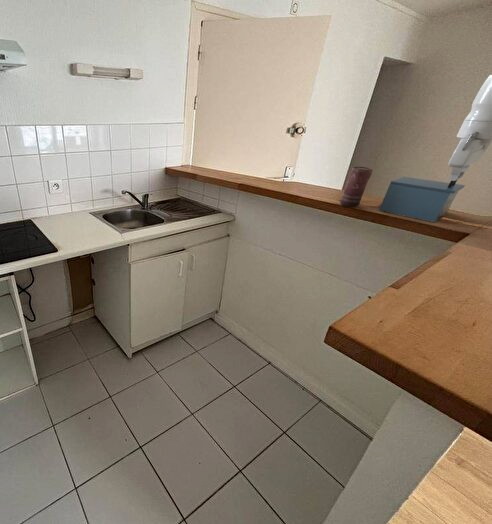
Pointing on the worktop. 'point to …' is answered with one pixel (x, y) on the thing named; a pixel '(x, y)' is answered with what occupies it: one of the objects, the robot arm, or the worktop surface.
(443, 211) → the blue hinged box
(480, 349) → the worktop surface
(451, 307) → the worktop surface
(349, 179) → the can
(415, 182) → the blue box lid
